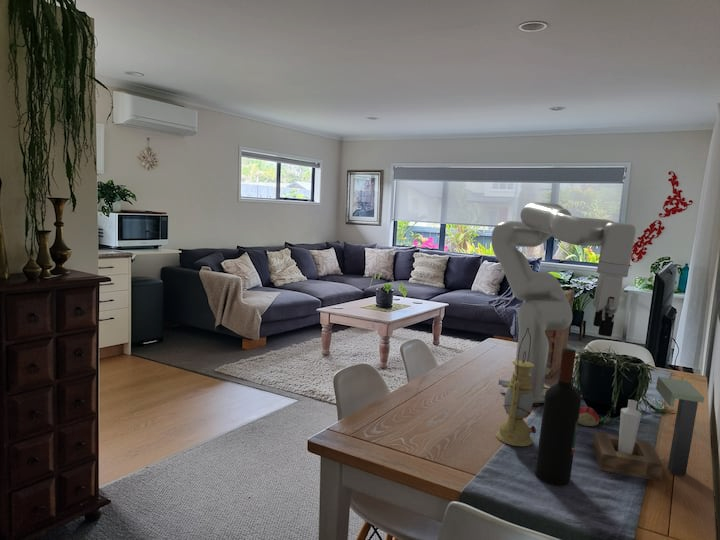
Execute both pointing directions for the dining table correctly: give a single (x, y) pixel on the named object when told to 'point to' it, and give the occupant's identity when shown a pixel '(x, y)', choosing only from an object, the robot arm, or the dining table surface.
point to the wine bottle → (559, 426)
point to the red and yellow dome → (588, 417)
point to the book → (557, 342)
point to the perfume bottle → (628, 427)
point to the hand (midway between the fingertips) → (601, 330)
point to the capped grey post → (680, 419)
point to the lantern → (518, 405)
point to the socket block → (627, 457)
